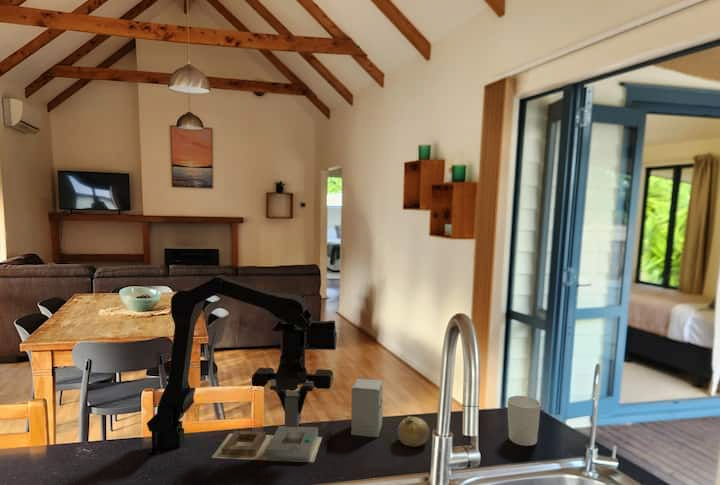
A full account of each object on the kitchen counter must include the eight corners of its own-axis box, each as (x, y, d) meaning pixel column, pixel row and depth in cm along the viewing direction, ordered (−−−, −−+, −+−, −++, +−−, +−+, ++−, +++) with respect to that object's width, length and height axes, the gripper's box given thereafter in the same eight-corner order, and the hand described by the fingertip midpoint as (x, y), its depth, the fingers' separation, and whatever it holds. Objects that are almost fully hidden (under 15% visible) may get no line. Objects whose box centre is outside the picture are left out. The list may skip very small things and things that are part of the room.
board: (211, 461, 108) (211, 457, 108) (229, 437, 120) (229, 433, 120) (313, 466, 107) (313, 462, 106) (322, 441, 118) (322, 437, 118)
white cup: (505, 443, 118) (506, 404, 117) (507, 430, 125) (508, 393, 124) (538, 449, 115) (540, 409, 114) (539, 435, 122) (540, 398, 121)
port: (266, 460, 107) (266, 447, 107) (279, 435, 119) (279, 424, 119) (309, 461, 107) (309, 449, 106) (318, 437, 119) (318, 425, 118)
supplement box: (378, 438, 120) (378, 389, 120) (350, 435, 122) (350, 387, 121) (383, 425, 128) (383, 379, 127) (356, 422, 129) (356, 377, 128)
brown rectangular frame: (222, 454, 110) (221, 448, 110) (235, 436, 119) (235, 430, 118) (255, 456, 109) (255, 449, 109) (266, 437, 118) (266, 432, 118)
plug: (284, 426, 110) (284, 393, 110) (289, 418, 115) (289, 386, 114) (297, 427, 110) (297, 394, 110) (301, 419, 115) (301, 387, 114)
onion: (400, 434, 123) (401, 407, 122) (431, 438, 121) (431, 411, 120) (394, 448, 115) (394, 420, 115) (427, 453, 113) (427, 424, 112)
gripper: (243, 357, 104) (244, 426, 105) (327, 360, 103) (326, 429, 104) (258, 344, 115) (258, 406, 116) (333, 346, 114) (333, 409, 115)
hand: (293, 412), depth 112 cm, fingers closed on plug, 3 cm apart
